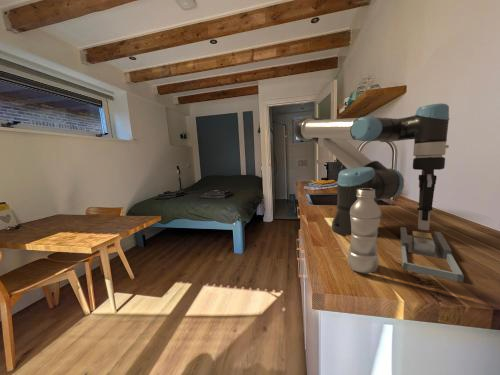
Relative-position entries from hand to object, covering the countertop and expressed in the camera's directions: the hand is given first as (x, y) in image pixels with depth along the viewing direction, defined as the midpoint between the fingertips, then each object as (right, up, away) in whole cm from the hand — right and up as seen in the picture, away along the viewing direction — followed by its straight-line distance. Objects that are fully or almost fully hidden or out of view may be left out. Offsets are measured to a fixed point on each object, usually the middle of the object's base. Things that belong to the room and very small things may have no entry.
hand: (423, 229), depth 66 cm
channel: (-6, -4, -6) cm, 10 cm away
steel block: (-8, -4, -9) cm, 13 cm away
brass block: (-5, -3, -5) cm, 8 cm away
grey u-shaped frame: (-13, -6, -17) cm, 22 cm away
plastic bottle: (-30, -7, -17) cm, 35 cm away
